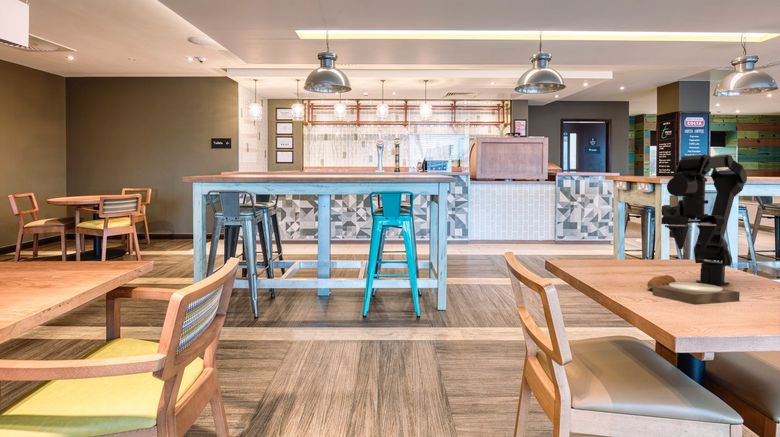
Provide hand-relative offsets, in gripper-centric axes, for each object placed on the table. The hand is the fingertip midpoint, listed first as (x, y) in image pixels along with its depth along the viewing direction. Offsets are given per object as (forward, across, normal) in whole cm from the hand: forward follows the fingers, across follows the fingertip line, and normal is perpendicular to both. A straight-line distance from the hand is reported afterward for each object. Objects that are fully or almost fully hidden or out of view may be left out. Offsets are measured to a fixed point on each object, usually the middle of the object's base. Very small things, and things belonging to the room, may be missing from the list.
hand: (691, 248), depth 143 cm
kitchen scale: (+12, +10, +10) cm, 19 cm away
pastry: (+13, +11, -4) cm, 18 cm away
